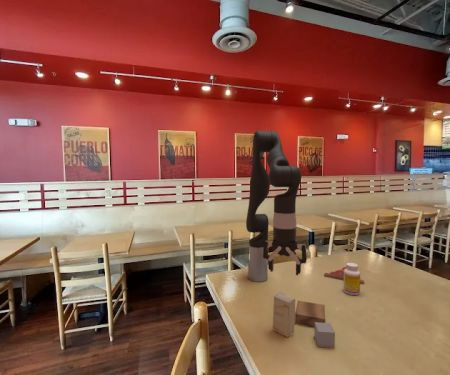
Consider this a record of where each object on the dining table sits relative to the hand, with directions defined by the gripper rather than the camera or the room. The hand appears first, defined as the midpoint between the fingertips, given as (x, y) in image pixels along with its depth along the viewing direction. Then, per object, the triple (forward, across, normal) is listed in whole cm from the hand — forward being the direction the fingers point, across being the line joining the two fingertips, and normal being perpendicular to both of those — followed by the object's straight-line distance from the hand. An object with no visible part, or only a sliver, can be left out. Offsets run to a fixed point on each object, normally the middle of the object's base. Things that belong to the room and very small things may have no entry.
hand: (284, 272), depth 87 cm
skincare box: (+21, 0, 0) cm, 21 cm away
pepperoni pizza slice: (+22, +23, +61) cm, 69 cm away
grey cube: (+21, +13, -1) cm, 24 cm away
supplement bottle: (+21, +24, +39) cm, 50 cm away
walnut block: (+21, +8, +11) cm, 25 cm away
